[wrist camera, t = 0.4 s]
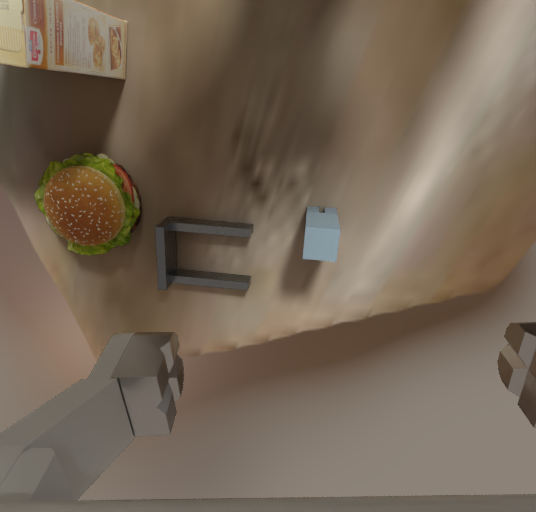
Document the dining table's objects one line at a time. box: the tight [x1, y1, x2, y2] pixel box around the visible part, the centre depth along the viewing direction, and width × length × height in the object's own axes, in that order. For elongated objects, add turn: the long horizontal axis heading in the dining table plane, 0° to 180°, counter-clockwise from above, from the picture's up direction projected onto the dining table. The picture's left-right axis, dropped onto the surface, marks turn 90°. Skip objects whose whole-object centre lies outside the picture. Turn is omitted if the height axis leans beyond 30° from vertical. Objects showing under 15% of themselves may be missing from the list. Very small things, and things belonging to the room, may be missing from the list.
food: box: [34, 153, 141, 255], centre depth 55 cm, size 14×14×8 cm
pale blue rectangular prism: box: [303, 206, 340, 262], centre depth 52 cm, size 4×4×10 cm
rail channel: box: [155, 217, 253, 290], centre depth 58 cm, size 9×13×5 cm
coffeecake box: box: [0, 0, 128, 80], centre depth 42 cm, size 15×7×20 cm, turn 80°
